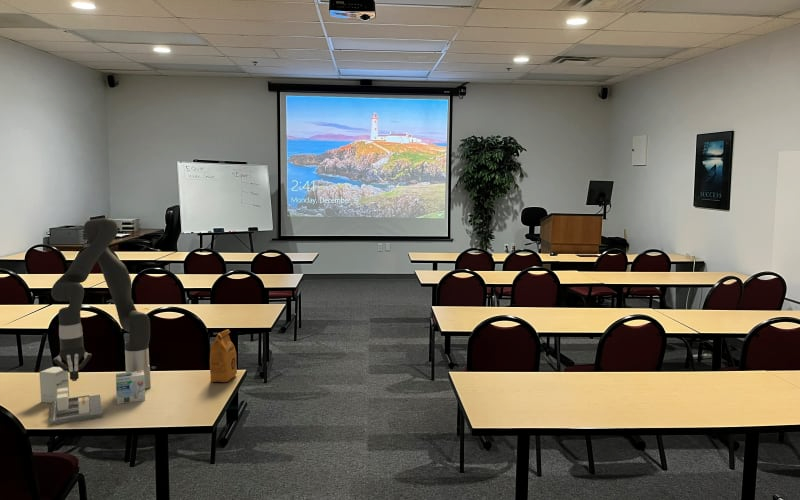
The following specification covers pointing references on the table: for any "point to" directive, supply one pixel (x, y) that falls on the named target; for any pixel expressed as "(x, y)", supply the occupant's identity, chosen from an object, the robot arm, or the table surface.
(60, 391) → the handle
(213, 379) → the coffee package
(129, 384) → the light bulb box
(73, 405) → the grey flat slotted panel
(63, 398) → the handle
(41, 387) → the supplement box
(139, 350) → the robot arm
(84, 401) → the block
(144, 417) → the table surface
